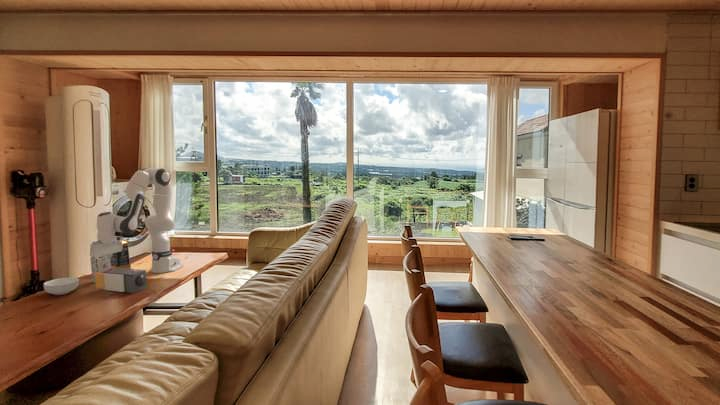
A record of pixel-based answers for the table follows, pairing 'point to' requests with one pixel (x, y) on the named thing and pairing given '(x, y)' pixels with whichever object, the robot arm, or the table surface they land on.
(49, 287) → the cereal bowl
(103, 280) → the side door
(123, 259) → the whiskey bottle
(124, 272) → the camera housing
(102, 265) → the candy bar box
